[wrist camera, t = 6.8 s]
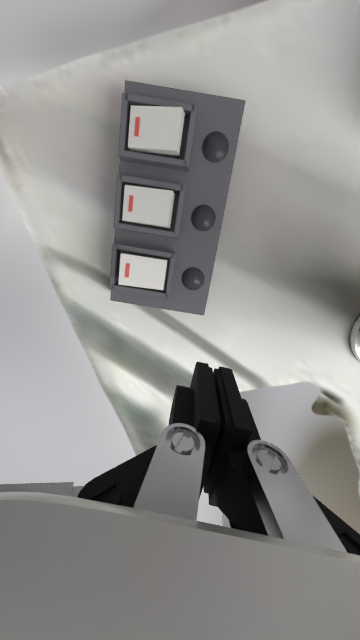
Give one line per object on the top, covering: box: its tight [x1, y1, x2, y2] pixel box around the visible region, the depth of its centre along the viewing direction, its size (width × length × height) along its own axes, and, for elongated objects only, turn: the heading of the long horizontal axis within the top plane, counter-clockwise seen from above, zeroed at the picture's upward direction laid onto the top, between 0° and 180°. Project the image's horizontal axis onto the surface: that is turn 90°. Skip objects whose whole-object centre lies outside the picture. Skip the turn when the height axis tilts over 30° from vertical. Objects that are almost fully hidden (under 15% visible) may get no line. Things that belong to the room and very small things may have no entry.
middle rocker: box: [122, 185, 175, 228], centre depth 28 cm, size 6×4×1 cm, turn 81°
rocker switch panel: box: [110, 80, 245, 315], centre depth 31 cm, size 14×26×6 cm, turn 171°
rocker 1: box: [128, 106, 185, 155], centre depth 26 cm, size 6×4×1 cm, turn 81°
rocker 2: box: [118, 253, 167, 290], centre depth 30 cm, size 6×4×1 cm, turn 81°
